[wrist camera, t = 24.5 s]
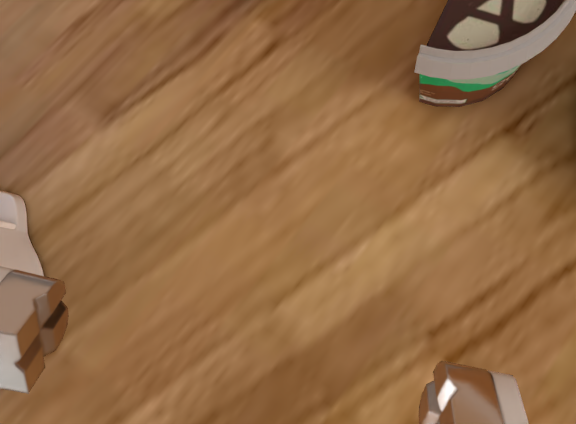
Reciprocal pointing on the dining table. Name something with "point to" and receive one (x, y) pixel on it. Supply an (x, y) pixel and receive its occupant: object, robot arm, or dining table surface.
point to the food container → (485, 46)
